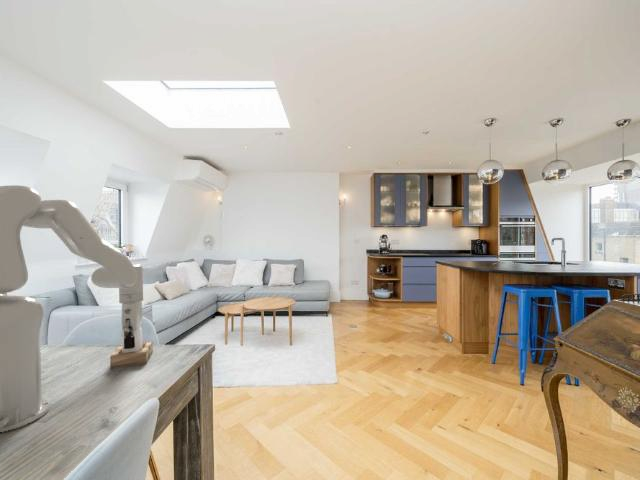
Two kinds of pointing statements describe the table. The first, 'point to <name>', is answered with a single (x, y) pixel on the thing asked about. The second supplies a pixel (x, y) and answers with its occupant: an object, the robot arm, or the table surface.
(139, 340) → the can
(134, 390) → the table surface
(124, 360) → the socket block
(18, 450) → the table surface
